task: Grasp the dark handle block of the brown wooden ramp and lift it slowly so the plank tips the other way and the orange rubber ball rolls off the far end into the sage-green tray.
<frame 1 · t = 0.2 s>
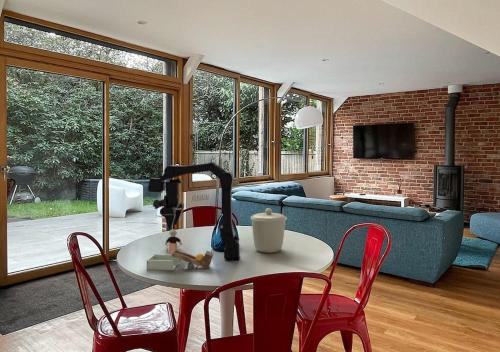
hand: (172, 226, 171), 14 cm above the table, fingers open, 9 cm apart
ball: (199, 257, 157), point 4 cm above the table, tilted 9°, touching brown wooden ramp
grandmother figurine: (173, 256, 174), on the table
tray: (163, 266, 158), on the table
brown wooden ramp: (192, 255, 157), point 5 cm above the table, hinge at -18.1°, touching ball
canister: (268, 250, 185), on the table
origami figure: (173, 248, 188), on the table
fulcrum: (190, 267, 158), on the table
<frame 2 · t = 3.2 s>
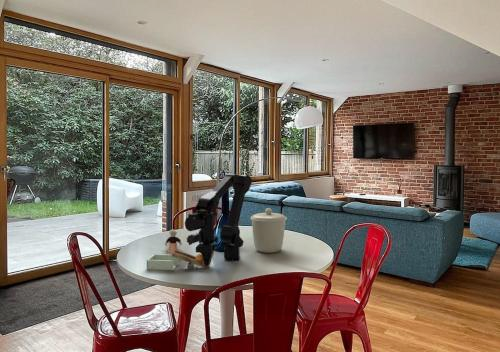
hand: (207, 263, 157), 2 cm above the table, fingers closed on brown wooden ramp, 4 cm apart
brown wooden ramp: (192, 255, 157), point 5 cm above the table, hinge at -18.1°, touching ball, gripper
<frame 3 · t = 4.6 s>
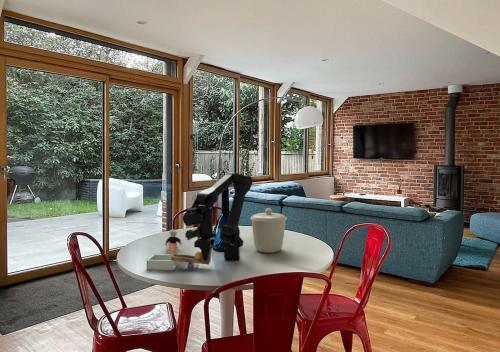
hand: (206, 258, 157), 4 cm above the table, fingers closed on brown wooden ramp, 4 cm apart
brown wooden ramp: (191, 254, 157), point 6 cm above the table, hinge at -4.7°, touching ball, gripper
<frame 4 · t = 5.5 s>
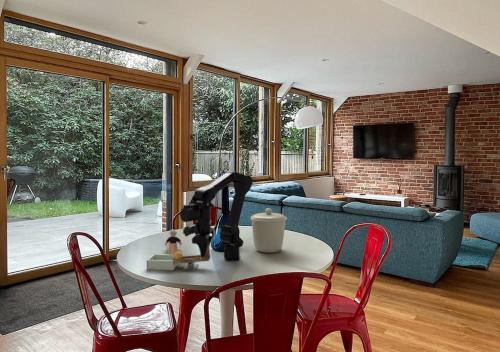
hand: (204, 255, 157), 5 cm above the table, fingers closed on brown wooden ramp, 4 cm apart
ball: (178, 256, 158), point 5 cm above the table, tilted 78°, touching brown wooden ramp
brown wooden ramp: (190, 254, 157), point 6 cm above the table, hinge at 6.6°, touching ball, gripper
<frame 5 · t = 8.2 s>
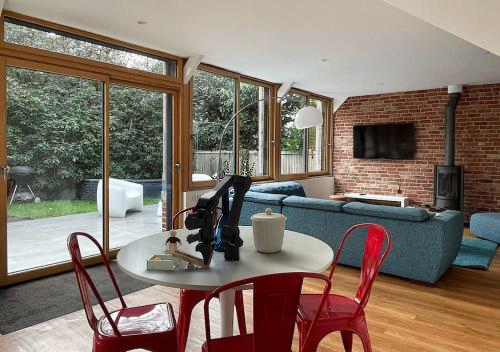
hand: (207, 263, 157), 2 cm above the table, fingers open, 4 cm apart
ball: (156, 261, 158), point 2 cm above the table, tilted 133°, touching tray
brown wooden ramp: (192, 255, 157), point 5 cm above the table, hinge at -18.5°
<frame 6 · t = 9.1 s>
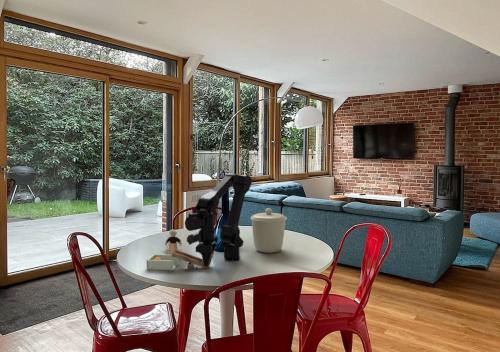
hand: (207, 263, 157), 2 cm above the table, fingers open, 6 cm apart
brown wooden ramp: (192, 255, 157), point 5 cm above the table, hinge at -18.2°
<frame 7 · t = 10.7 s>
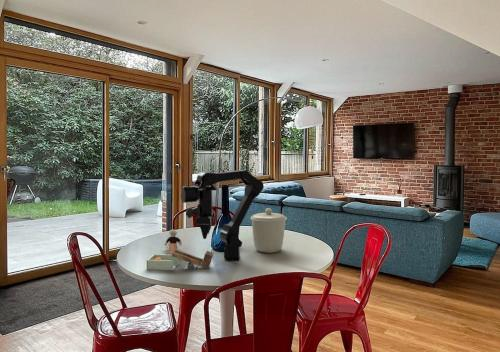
hand: (206, 236, 163), 12 cm above the table, fingers open, 9 cm apart
ball: (157, 261, 158), point 2 cm above the table, tilted 146°, touching tray
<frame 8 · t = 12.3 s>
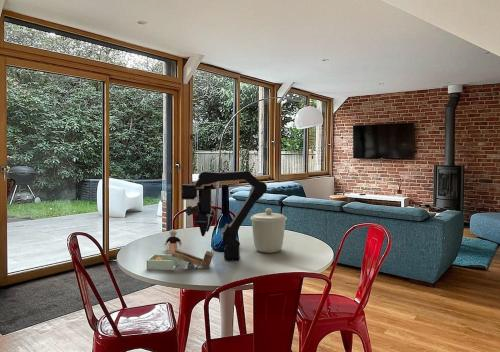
hand: (205, 233, 167), 12 cm above the table, fingers open, 9 cm apart
ball: (158, 261, 158), point 2 cm above the table, tilted 155°, touching tray
at the end: ball inside the target area on the tray (2.0 cm from its centre), point 2.1 cm above the tray's base; ball moved 17.8 cm from its start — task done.
